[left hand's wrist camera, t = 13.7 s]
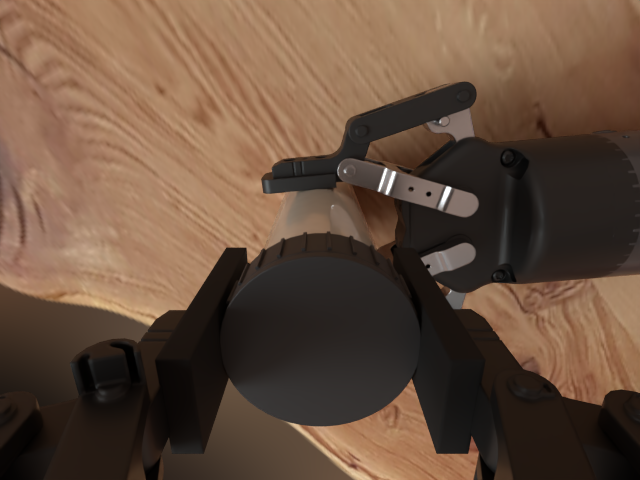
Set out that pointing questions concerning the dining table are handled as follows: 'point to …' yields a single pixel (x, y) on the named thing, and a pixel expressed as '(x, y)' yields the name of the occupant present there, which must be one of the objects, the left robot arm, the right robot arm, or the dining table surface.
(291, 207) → the bottle
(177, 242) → the dining table surface
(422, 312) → the left robot arm
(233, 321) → the lid
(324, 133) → the dining table surface
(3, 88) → the dining table surface
